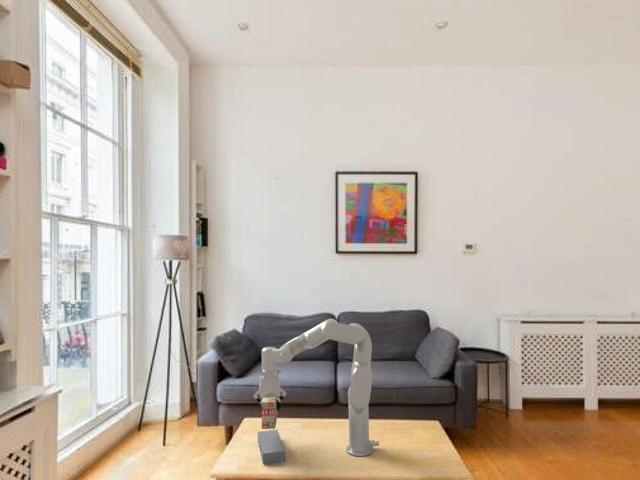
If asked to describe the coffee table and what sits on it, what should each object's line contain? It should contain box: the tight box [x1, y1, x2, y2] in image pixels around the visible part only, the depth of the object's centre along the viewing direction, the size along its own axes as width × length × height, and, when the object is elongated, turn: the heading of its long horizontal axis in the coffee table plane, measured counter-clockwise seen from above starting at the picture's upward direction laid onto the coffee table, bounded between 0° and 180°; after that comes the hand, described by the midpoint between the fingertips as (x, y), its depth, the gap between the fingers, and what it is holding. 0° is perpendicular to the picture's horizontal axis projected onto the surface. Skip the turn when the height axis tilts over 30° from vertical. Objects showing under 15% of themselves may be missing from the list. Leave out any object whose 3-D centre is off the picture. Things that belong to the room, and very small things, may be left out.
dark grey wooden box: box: [257, 429, 286, 466], centre depth 206 cm, size 10×26×5 cm, turn 13°
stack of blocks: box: [261, 396, 279, 430], centre depth 207 cm, size 21×6×12 cm, turn 2°
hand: (270, 410), depth 207 cm, fingers closed on stack of blocks, 6 cm apart
